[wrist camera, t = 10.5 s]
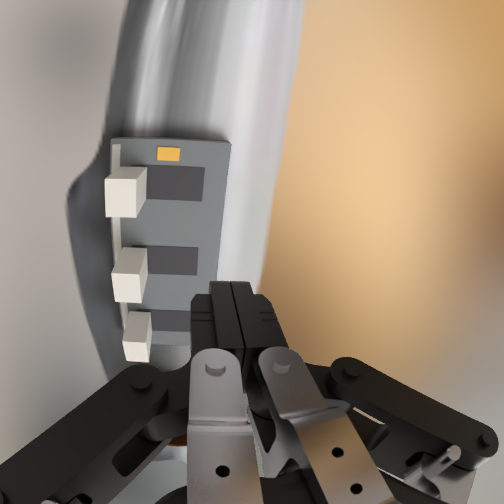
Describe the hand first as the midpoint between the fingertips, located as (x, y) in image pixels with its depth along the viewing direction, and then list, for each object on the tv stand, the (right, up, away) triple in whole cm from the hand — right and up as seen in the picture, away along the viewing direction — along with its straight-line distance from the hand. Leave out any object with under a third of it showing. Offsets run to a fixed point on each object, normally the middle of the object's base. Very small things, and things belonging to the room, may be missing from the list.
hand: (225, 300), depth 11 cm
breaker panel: (-8, +2, +19) cm, 21 cm away
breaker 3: (-12, -6, +20) cm, 24 cm away
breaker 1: (-10, +8, +13) cm, 18 cm away
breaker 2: (-11, +1, +16) cm, 19 cm away
